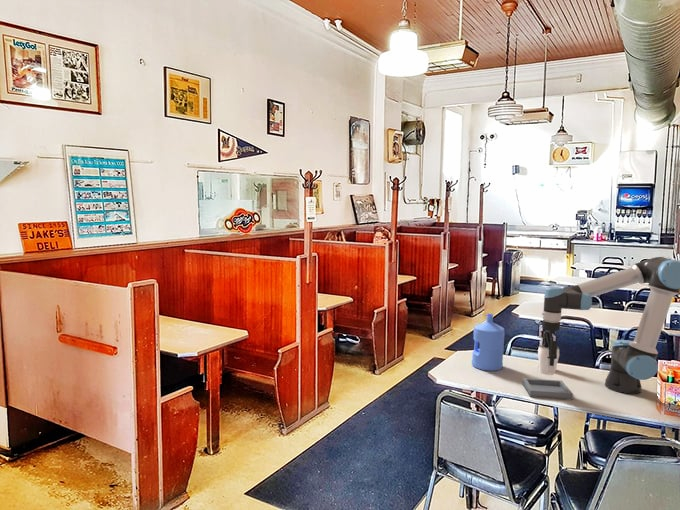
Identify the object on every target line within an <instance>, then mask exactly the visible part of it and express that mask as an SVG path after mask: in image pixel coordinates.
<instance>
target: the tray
mask: <svg viewBox="0 0 680 510" xmlns="http://www.w3.org/2000/svg"><path fill="white" fill-rule="evenodd" d="M521 380H522V382H521V385H522V387H524V390H525V391H526V393H527V394H528V396H529V397H530V398H538V399H539V398H540V399H552V398H553V399H555V400H565V399H572V400H573V392H572V391H571V390H570V388H569V387H568V386H567V385H566V384H565V383H564V381H563V380H561V379H560V380H559V379H545V378H544V379H542V378H530V377H529V378H528V377H522V379H521Z"/></svg>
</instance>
